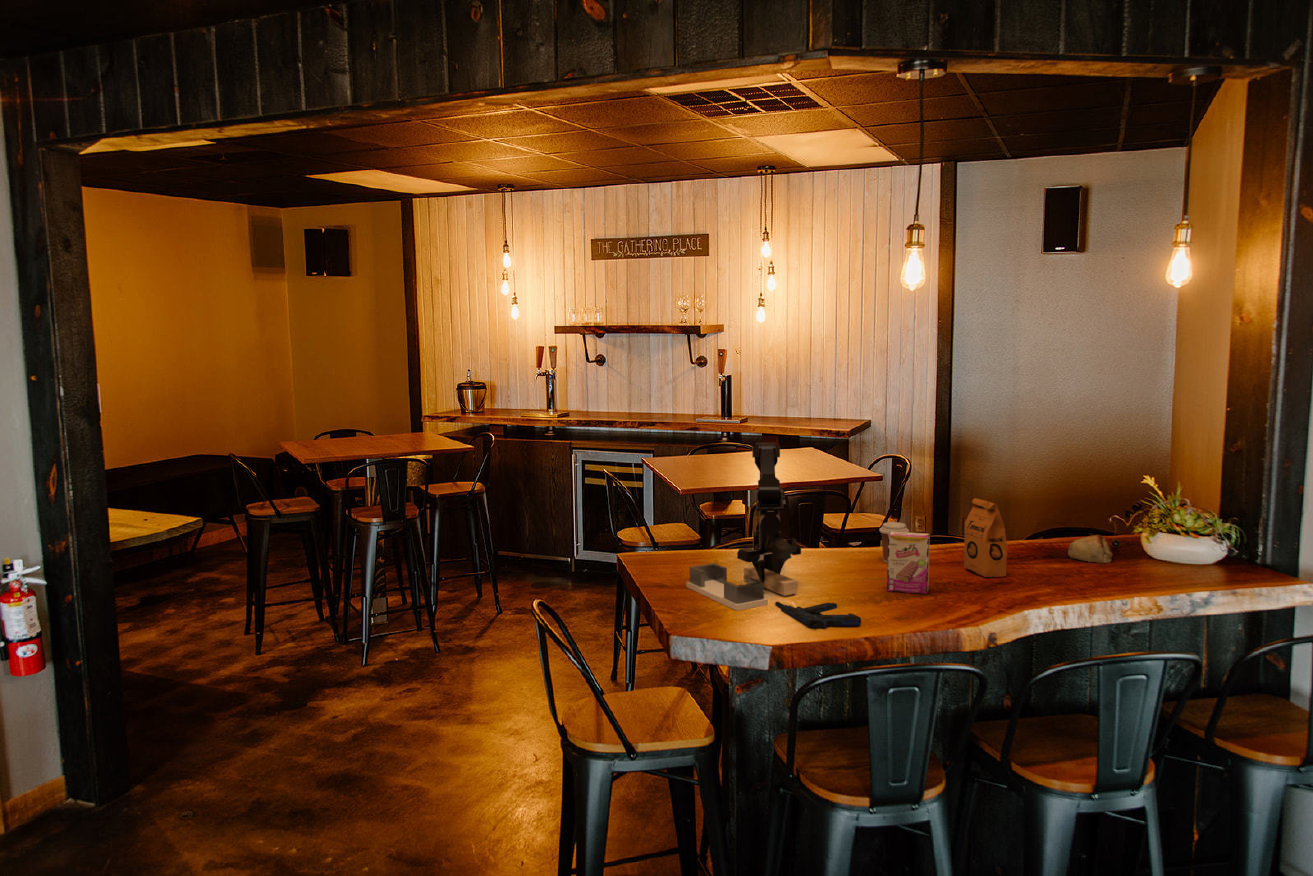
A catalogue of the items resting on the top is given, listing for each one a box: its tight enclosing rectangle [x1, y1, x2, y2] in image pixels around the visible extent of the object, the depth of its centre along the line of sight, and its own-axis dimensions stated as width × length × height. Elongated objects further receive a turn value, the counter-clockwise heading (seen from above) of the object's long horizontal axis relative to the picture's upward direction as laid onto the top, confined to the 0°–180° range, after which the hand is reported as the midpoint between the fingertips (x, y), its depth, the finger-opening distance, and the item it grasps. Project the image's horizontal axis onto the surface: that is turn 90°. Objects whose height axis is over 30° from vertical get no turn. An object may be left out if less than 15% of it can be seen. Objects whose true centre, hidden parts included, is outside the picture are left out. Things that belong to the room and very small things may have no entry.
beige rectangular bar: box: [743, 565, 798, 597], centre depth 251 cm, size 20×4×4 cm, turn 28°
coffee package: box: [963, 497, 1008, 578], centre depth 262 cm, size 10×12×22 cm
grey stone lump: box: [1067, 534, 1113, 564], centre depth 277 cm, size 14×12×8 cm
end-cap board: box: [685, 580, 769, 612], centre depth 245 cm, size 26×10×2 cm, turn 28°
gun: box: [774, 601, 862, 630], centre depth 226 cm, size 24×3×15 cm
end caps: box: [689, 562, 765, 604], centre depth 244 cm, size 25×9×4 cm, turn 28°
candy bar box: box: [886, 531, 931, 595], centre depth 245 cm, size 11×5×16 cm, turn 71°
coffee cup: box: [878, 521, 910, 564], centre depth 278 cm, size 9×9×12 cm
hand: (769, 581), depth 251 cm, fingers closed on beige rectangular bar, 4 cm apart
